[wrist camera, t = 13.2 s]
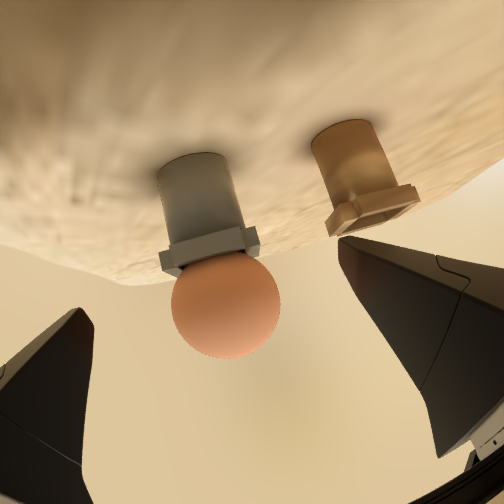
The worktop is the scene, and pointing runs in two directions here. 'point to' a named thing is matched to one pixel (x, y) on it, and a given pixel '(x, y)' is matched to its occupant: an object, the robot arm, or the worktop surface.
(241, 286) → the peach ball
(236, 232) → the slate cup
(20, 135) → the worktop surface
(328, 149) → the oak cup
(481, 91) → the worktop surface
